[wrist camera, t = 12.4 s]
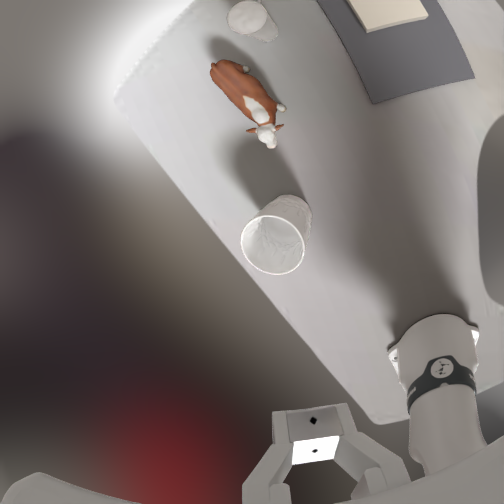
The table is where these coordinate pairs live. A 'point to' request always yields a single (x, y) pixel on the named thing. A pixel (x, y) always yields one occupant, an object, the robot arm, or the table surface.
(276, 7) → the table surface
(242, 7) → the milkshake
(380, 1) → the tile
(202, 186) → the table surface
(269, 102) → the bull figurine
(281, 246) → the white cup
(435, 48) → the mat
